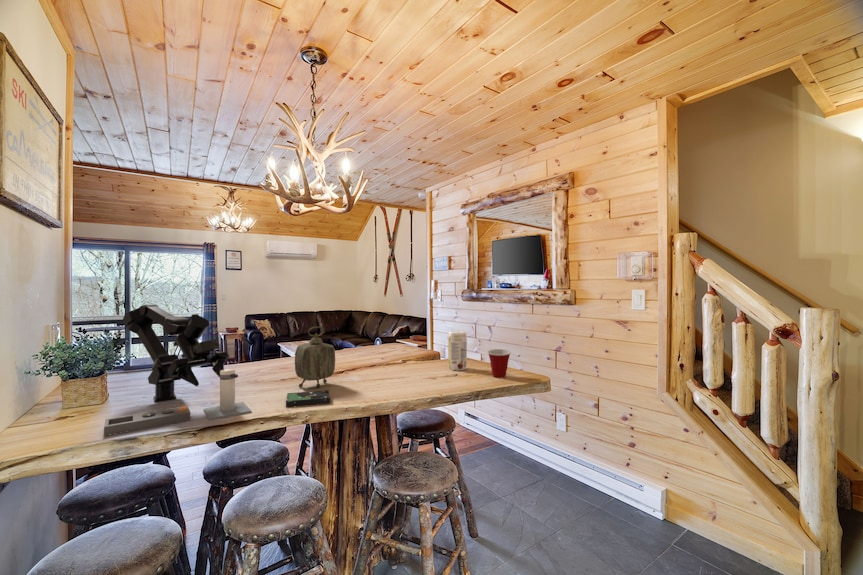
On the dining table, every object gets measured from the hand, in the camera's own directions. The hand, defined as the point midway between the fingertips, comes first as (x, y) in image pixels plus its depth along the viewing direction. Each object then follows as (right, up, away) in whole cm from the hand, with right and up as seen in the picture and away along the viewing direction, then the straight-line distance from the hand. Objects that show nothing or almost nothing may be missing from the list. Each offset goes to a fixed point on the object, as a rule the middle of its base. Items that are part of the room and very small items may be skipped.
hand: (211, 382), depth 126 cm
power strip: (-10, -9, -15) cm, 20 cm away
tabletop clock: (+27, -9, +28) cm, 40 cm away
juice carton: (+88, -10, +63) cm, 109 cm away
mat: (+7, -9, -3) cm, 12 cm away
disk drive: (+30, -10, +8) cm, 33 cm away
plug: (+8, -8, -4) cm, 12 cm away
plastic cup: (+106, -10, +48) cm, 117 cm away
